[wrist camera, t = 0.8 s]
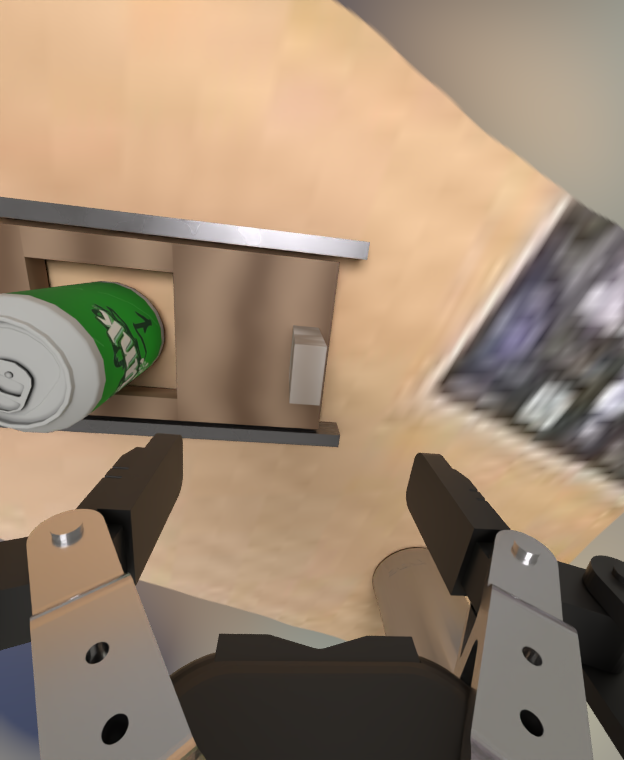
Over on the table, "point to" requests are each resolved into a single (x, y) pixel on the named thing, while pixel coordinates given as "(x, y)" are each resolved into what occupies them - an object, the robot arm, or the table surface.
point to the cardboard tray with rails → (210, 324)
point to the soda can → (71, 351)
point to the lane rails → (201, 232)
